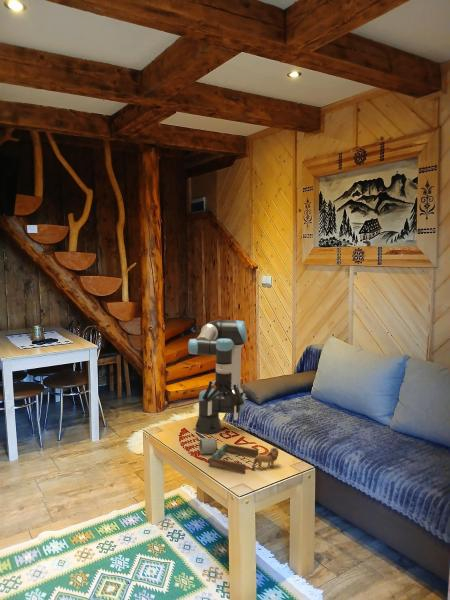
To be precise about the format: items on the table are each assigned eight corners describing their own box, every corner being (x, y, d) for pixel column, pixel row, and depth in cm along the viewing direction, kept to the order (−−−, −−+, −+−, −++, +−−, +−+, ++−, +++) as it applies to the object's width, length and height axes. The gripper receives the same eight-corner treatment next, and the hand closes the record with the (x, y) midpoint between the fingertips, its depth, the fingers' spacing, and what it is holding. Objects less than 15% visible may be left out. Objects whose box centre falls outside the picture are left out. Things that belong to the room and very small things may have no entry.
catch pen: (225, 451, 242) (225, 443, 242) (258, 457, 235) (258, 449, 235) (208, 466, 223) (209, 458, 223) (244, 473, 217) (244, 465, 216)
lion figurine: (274, 462, 229) (274, 445, 228) (280, 467, 225) (281, 448, 224) (248, 468, 222) (249, 450, 221) (254, 473, 217) (255, 454, 217)
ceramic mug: (217, 455, 237) (217, 440, 236) (201, 456, 235) (201, 441, 234) (212, 447, 247) (213, 433, 247) (197, 448, 245) (197, 434, 245)
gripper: (196, 370, 219) (195, 415, 221) (245, 377, 209) (244, 423, 210) (203, 367, 226) (202, 410, 228) (251, 373, 216) (250, 418, 217)
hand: (222, 417), depth 219 cm, fingers open, 13 cm apart
